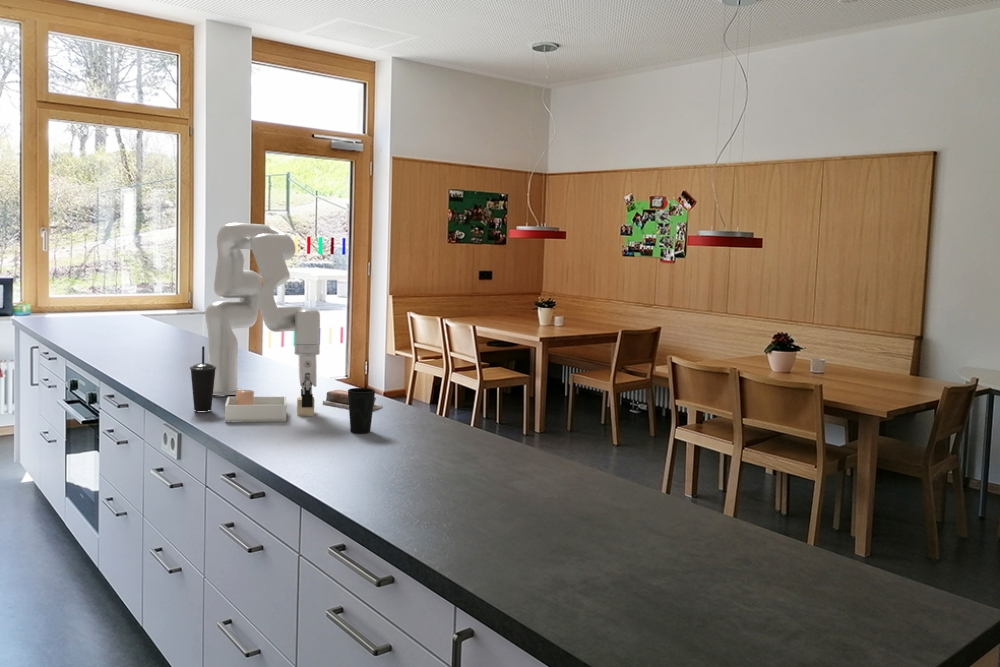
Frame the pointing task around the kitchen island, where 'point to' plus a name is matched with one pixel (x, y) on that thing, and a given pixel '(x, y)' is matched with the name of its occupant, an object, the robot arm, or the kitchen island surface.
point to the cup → (360, 409)
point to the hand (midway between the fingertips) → (306, 404)
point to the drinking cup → (202, 384)
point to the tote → (257, 410)
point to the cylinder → (244, 397)
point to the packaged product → (342, 400)
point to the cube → (304, 408)
